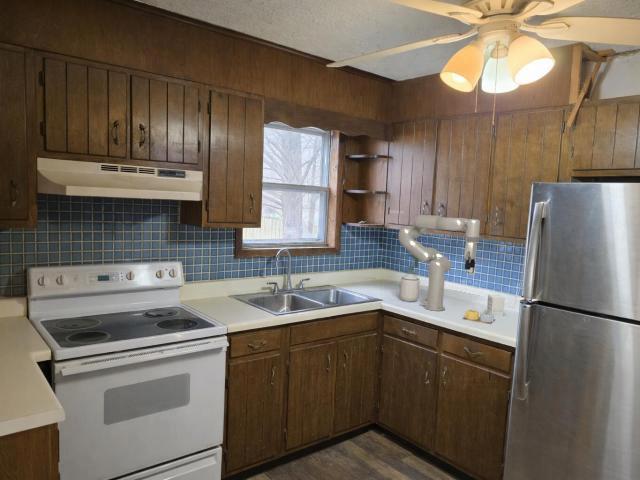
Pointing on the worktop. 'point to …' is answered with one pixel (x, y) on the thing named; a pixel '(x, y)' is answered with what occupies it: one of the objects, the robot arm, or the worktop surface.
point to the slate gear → (486, 317)
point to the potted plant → (410, 284)
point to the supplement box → (496, 305)
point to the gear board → (479, 319)
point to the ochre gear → (472, 314)
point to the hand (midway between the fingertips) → (469, 268)
